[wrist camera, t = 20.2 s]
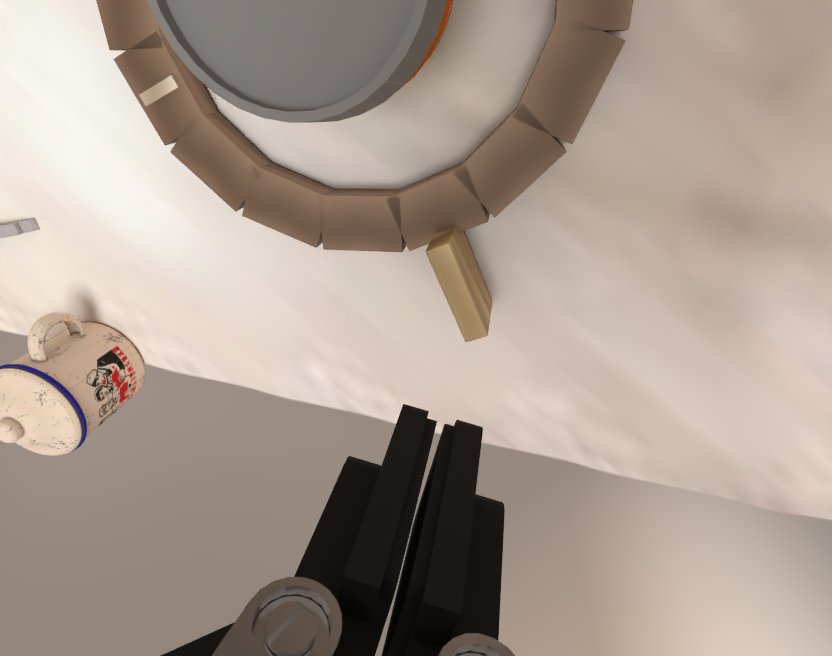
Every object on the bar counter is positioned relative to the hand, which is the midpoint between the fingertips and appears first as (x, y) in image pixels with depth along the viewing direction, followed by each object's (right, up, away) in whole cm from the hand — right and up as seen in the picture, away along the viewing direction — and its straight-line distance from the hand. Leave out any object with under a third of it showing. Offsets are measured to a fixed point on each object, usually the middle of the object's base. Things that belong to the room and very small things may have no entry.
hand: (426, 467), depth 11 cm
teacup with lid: (-31, +1, +40) cm, 50 cm away
